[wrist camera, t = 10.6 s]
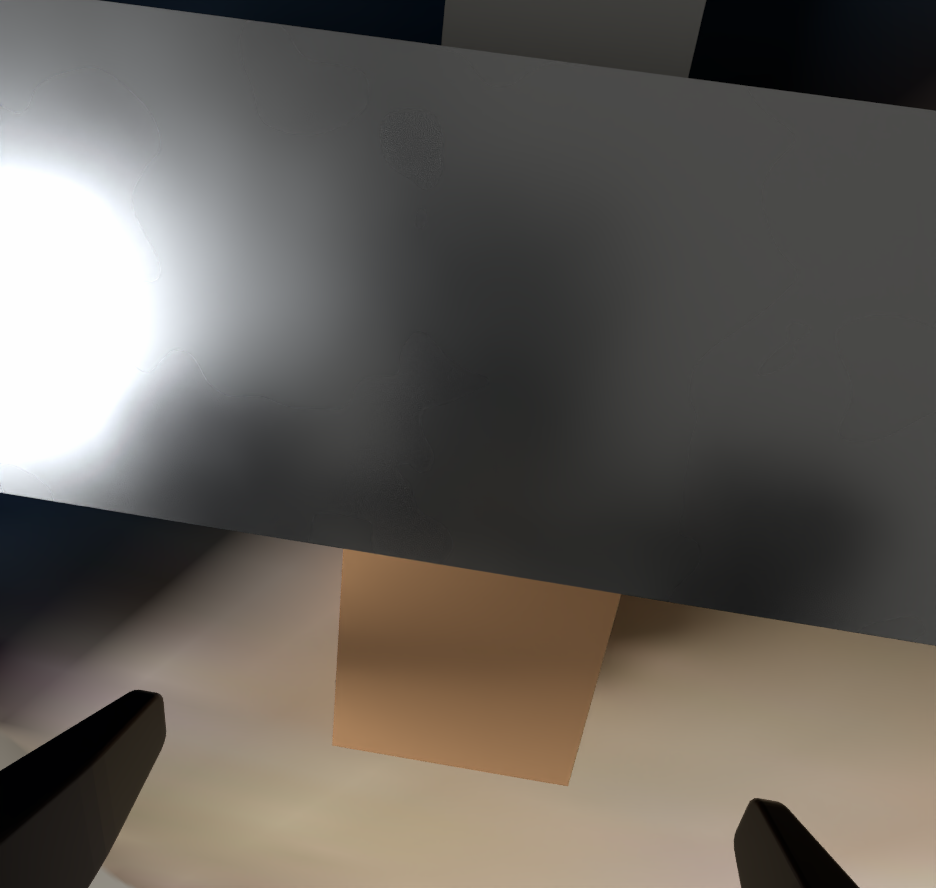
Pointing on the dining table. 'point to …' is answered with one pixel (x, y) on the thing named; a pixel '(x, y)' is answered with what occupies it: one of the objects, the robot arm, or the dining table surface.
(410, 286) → the housing
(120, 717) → the robot arm
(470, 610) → the plug
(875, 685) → the dining table surface
